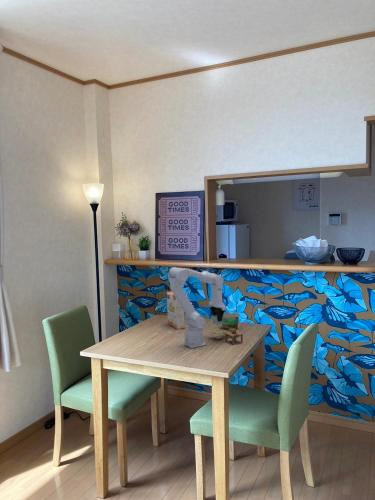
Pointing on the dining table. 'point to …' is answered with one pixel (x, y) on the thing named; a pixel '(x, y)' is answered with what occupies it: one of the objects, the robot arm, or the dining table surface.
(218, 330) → the balance
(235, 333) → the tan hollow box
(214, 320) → the block
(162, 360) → the dining table surface
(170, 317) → the cracker box
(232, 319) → the food container
